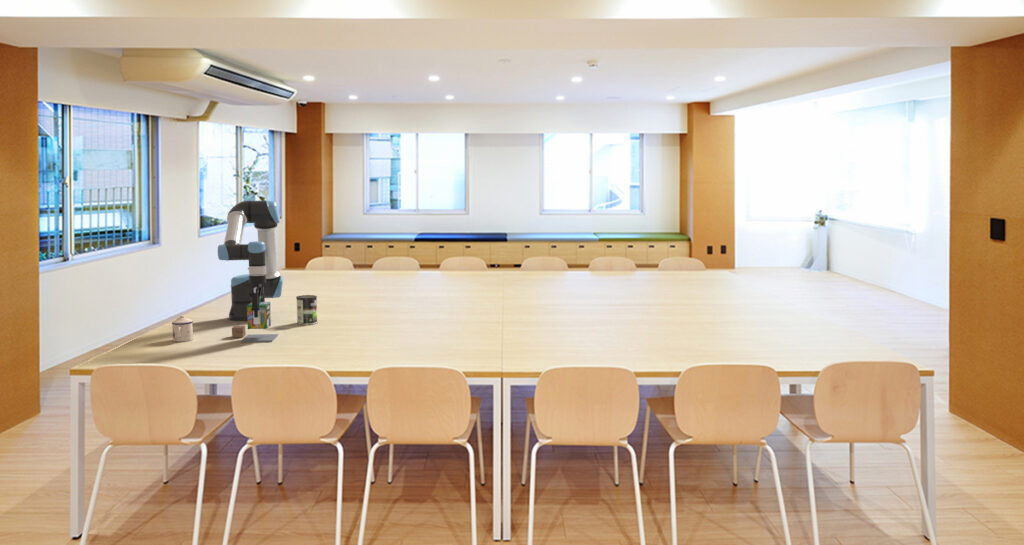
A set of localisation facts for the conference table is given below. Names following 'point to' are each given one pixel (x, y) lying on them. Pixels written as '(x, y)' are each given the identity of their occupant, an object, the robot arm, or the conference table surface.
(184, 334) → the teacup with lid
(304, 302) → the coffee can
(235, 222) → the robot arm
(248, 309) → the chalk box
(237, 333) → the walnut block
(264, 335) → the slate mat
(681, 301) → the conference table surface
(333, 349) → the conference table surface
